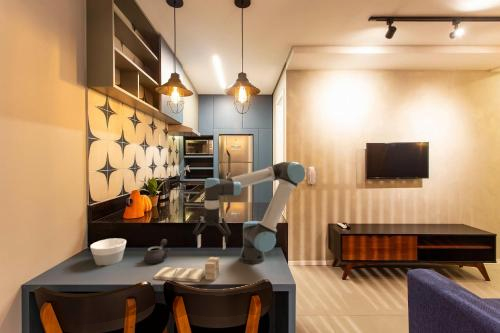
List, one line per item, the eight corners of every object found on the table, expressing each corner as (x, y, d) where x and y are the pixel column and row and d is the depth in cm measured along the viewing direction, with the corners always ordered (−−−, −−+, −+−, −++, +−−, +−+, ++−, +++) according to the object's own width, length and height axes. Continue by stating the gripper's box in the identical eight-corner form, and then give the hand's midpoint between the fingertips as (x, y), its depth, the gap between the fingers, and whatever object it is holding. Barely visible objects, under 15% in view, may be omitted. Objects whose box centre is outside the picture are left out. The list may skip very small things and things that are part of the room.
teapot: (167, 265, 149) (166, 248, 149) (140, 265, 149) (140, 248, 149) (176, 253, 168) (175, 237, 168) (152, 253, 168) (152, 238, 167)
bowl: (94, 270, 142) (93, 251, 141) (87, 260, 156) (87, 242, 156) (130, 261, 155) (130, 243, 154) (121, 252, 169) (121, 236, 169)
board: (205, 272, 140) (205, 269, 140) (198, 282, 129) (198, 279, 129) (164, 269, 143) (164, 266, 143) (154, 278, 132) (154, 276, 132)
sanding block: (210, 272, 140) (210, 257, 140) (219, 272, 139) (219, 257, 139) (205, 280, 131) (205, 263, 131) (214, 280, 130) (214, 264, 130)
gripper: (236, 207, 136) (236, 246, 136) (191, 205, 139) (191, 244, 140) (233, 210, 128) (233, 251, 129) (186, 208, 132) (186, 248, 132)
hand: (211, 247), depth 134 cm, fingers open, 13 cm apart
